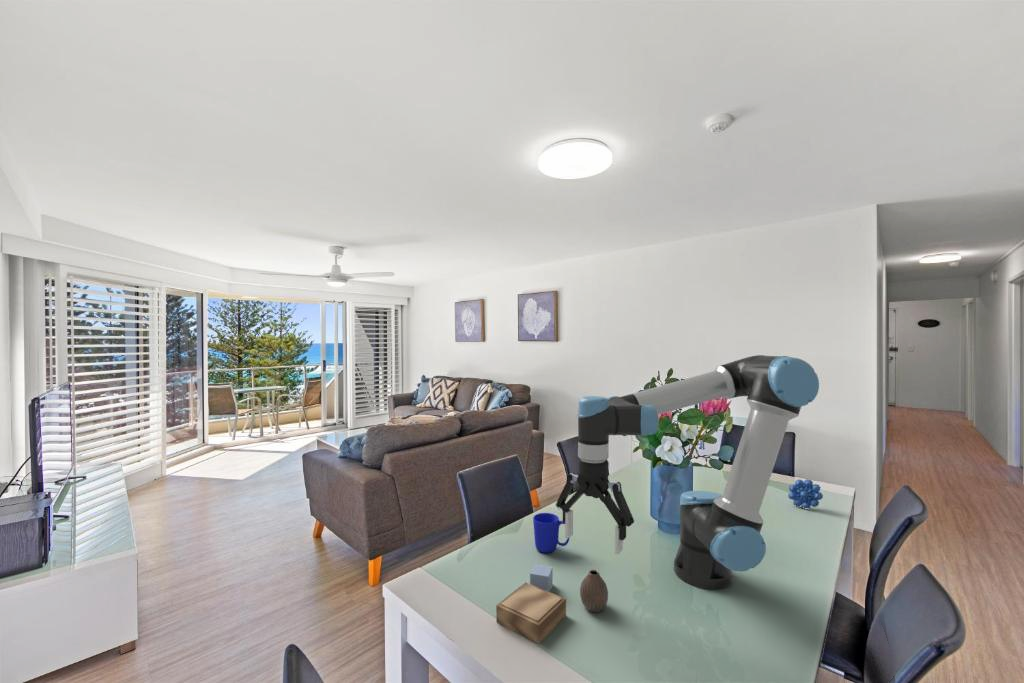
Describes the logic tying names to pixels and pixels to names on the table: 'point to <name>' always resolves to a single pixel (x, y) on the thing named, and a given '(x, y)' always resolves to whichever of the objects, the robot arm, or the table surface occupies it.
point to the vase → (594, 592)
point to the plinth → (531, 611)
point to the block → (541, 577)
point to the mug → (547, 532)
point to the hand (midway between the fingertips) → (593, 543)
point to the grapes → (805, 493)
